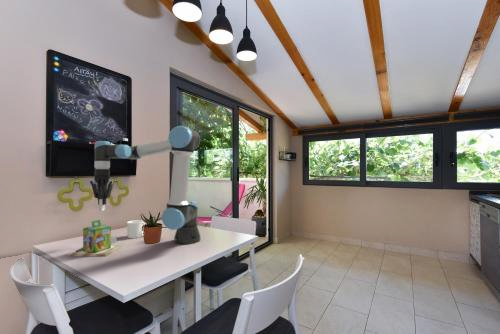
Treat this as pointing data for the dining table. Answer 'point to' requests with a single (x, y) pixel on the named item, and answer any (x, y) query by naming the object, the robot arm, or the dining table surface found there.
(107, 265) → the dining table surface
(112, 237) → the button base
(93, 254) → the clipboard
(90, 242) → the chalk box
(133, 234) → the mug
